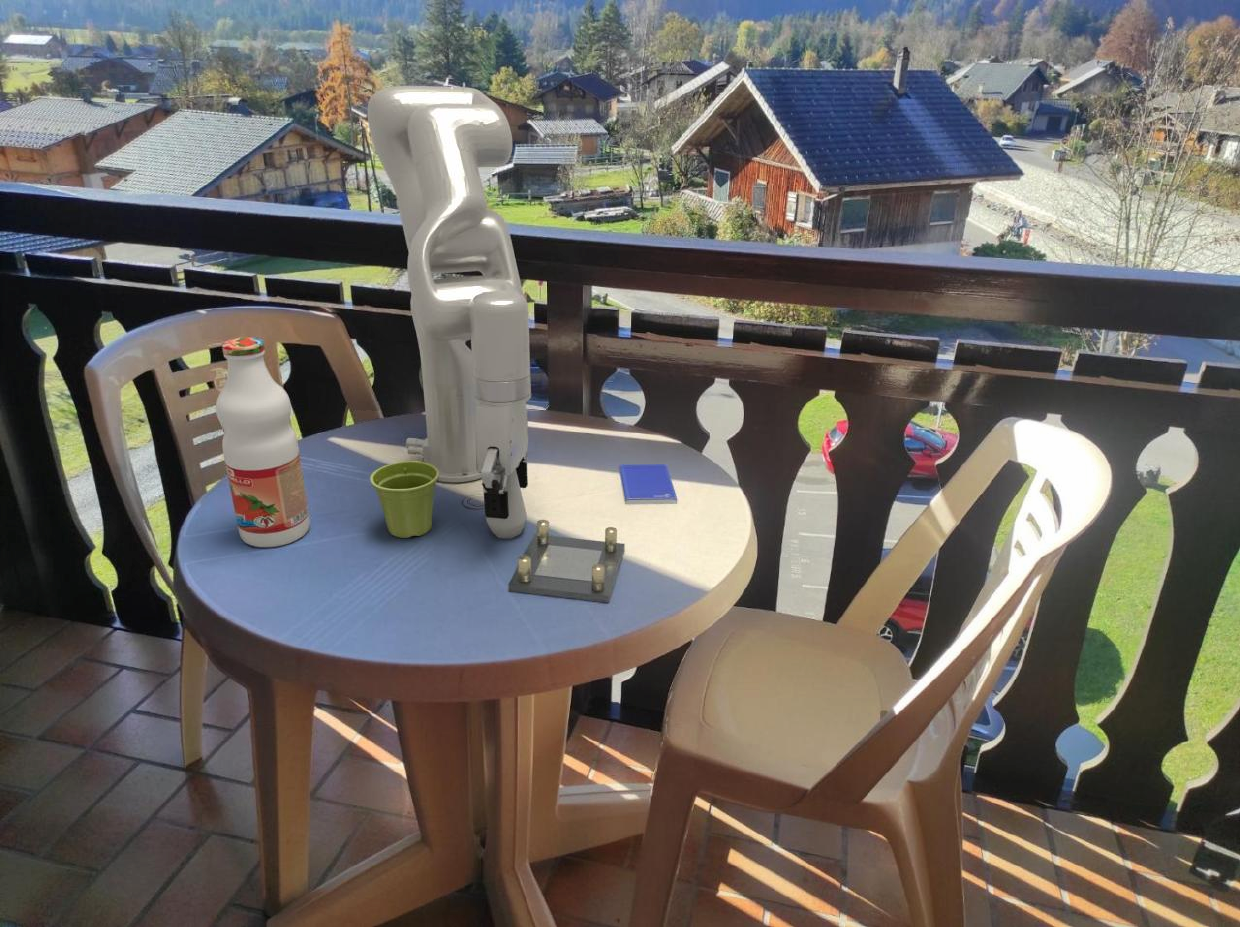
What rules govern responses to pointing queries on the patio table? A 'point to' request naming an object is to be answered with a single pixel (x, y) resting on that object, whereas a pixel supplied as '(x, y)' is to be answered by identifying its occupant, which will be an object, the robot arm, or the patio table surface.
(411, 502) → the plant pot
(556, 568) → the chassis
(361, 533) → the patio table surface
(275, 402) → the fruit juice
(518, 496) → the salt shaker
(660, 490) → the hard drive
